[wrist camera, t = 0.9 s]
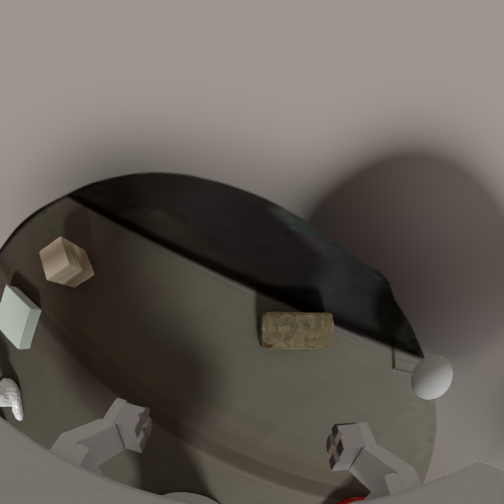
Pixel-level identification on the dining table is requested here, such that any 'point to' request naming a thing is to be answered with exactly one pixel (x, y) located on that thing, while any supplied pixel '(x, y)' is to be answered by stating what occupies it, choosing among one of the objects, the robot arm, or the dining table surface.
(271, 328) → the stone block
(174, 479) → the dining table surface
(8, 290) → the sage block
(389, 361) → the dining table surface
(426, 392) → the lollipop
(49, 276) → the birch block
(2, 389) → the seated beast figurine
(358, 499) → the kitchen timer
